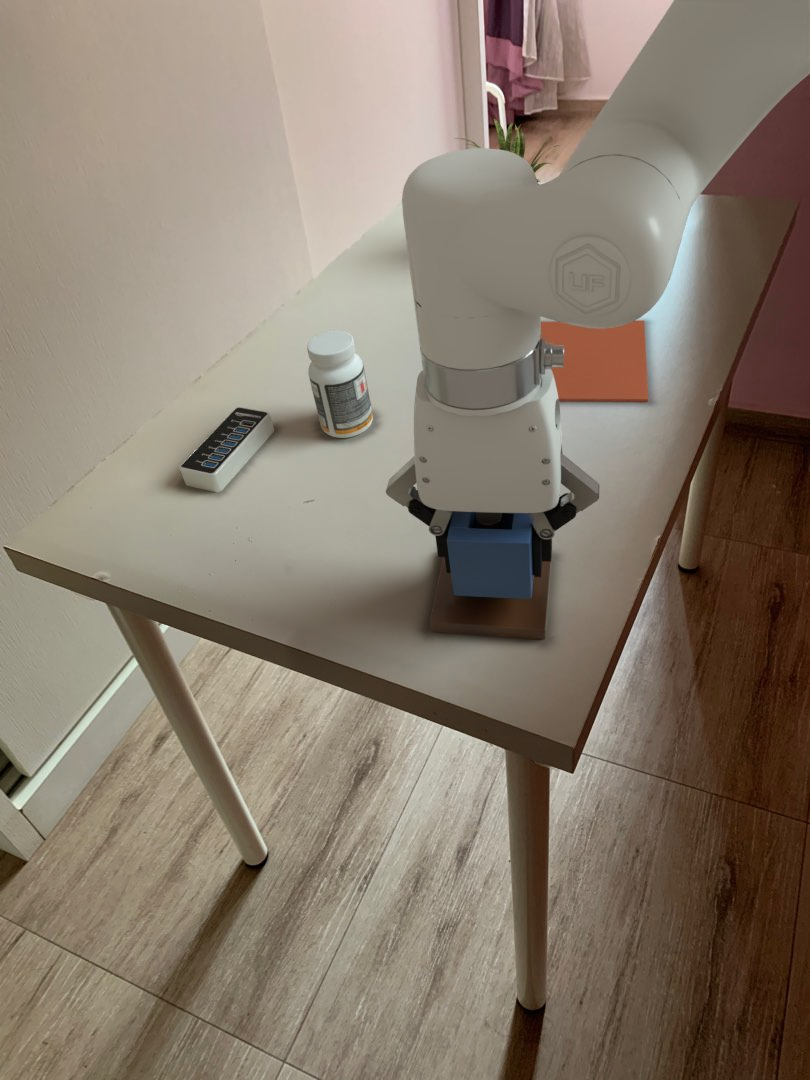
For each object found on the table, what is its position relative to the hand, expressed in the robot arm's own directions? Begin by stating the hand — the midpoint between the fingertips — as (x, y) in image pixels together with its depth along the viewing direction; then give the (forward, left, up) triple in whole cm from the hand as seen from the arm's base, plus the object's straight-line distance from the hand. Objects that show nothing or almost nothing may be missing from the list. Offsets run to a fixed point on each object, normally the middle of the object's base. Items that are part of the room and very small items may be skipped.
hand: (495, 560), depth 64 cm
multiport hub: (+29, -17, -4) cm, 34 cm away
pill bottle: (+18, -23, -4) cm, 30 cm away
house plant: (+5, -65, -4) cm, 65 cm away
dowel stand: (0, 0, -4) cm, 4 cm away
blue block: (0, 0, -1) cm, 1 cm away
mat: (-5, -36, -4) cm, 36 cm away
